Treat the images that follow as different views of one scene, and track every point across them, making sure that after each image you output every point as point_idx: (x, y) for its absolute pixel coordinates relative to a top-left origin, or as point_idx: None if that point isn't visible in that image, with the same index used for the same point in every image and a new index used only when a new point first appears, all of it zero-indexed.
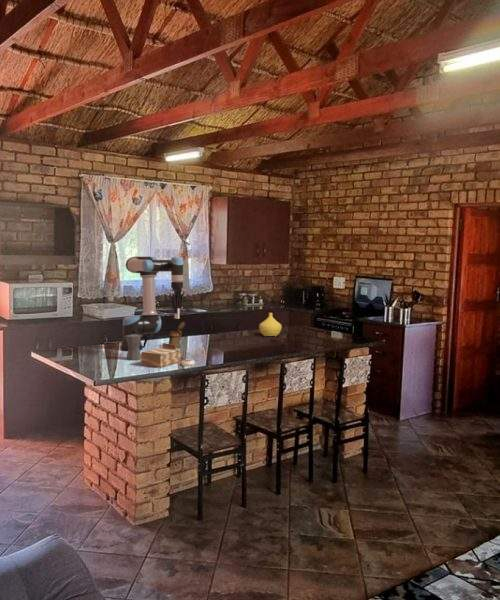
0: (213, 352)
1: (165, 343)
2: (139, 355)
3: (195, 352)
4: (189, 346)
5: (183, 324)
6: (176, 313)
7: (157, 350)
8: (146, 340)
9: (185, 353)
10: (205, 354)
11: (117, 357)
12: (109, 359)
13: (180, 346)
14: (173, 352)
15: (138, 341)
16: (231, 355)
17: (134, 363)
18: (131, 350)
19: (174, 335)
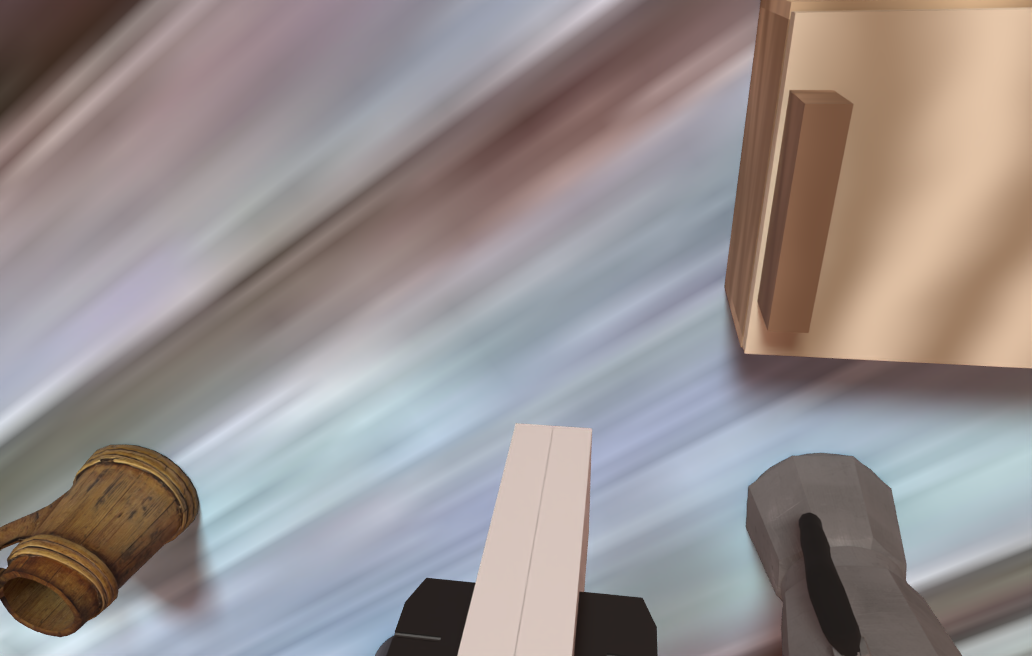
0: (9, 3)
1: (779, 308)
2: (823, 485)
3: (170, 191)
4: (15, 401)
5: None
6: (632, 600)
7: (1026, 261)
8: (829, 560)
9: (286, 252)
10: (166, 15)
11: None
12: None
13: (98, 451)
14: None
15: (892, 612)
16: None
17: (1028, 403)
18: (904, 574)
19: (87, 560)
